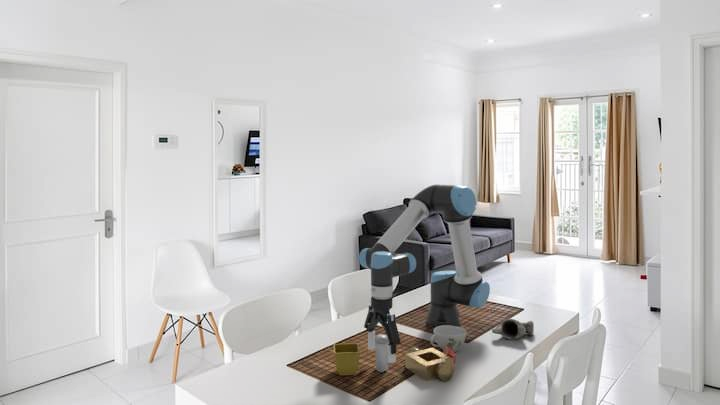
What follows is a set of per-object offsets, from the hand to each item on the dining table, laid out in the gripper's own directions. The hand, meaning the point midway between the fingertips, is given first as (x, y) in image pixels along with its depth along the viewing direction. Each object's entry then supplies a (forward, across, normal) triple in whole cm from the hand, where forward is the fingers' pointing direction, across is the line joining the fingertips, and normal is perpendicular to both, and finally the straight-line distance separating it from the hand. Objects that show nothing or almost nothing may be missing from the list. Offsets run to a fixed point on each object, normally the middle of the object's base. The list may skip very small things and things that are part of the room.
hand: (381, 355), depth 181 cm
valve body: (+5, +9, +16) cm, 19 cm away
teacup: (+5, -2, +31) cm, 32 cm away
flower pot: (+6, -4, -12) cm, 14 cm away
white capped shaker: (+5, 0, 0) cm, 5 cm away
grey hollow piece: (+5, +1, +64) cm, 64 cm away
